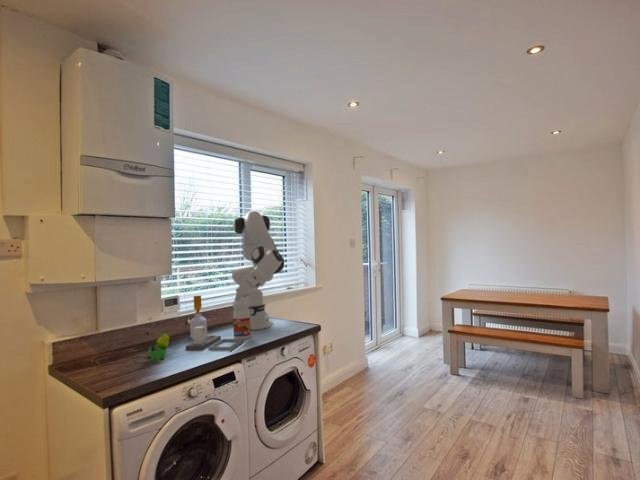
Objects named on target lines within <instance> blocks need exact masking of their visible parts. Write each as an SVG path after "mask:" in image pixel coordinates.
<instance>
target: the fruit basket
mask: <svg viewBox="0 0 640 480" xmlns="http://www.w3.org/2000/svg"><path fill="white" fill-rule="evenodd" d="M169 340H170V337H169V334H168V333H163V334H162V335H161V336H160V337H158V339H157V340H156V342H155V343H156V344H155V345H150V347H149V350H148V354H149V357H150V360H151V363H152V362H153V363H154V362H159V361H160V362H161V361H164V360H165V355H166V352H167V348H168V345H169V342H170V341H169Z"/></svg>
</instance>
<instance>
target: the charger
mask: <svg viewBox="0 0 640 480" xmlns="http://www.w3.org/2000/svg"><path fill="white" fill-rule="evenodd" d="M193 336H194V339H193V342H194V344H203V343H205V342H206V328H205V326H197V327H195V328H193Z"/></svg>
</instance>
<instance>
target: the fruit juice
mask: <svg viewBox="0 0 640 480" xmlns="http://www.w3.org/2000/svg"><path fill="white" fill-rule="evenodd" d="M237 289H238V288H236V289H235V292H236V291H237ZM237 294H238V293H237V292H236V294H235V297H236V296H237ZM232 308H233V313H232V324H233V328H232V329H233V339H243V340H248V341H249V340H250V339H251V337H252V330H251V322H250V311H249V301H248V300H247V298H244V297H243V296H241V297H240V299H239V300H238V301H236V300H235V299H234V300H233V302H232Z"/></svg>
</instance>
